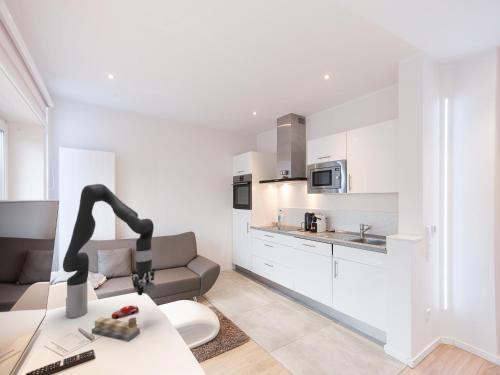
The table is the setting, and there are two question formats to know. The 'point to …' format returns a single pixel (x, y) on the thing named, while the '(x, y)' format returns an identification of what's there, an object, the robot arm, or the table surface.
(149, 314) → the table surface
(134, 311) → the race car
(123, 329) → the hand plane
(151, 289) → the grey rectangular box
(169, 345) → the table surface
